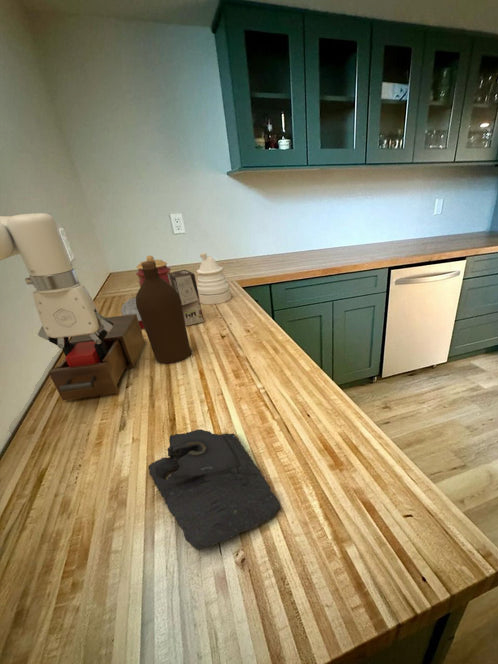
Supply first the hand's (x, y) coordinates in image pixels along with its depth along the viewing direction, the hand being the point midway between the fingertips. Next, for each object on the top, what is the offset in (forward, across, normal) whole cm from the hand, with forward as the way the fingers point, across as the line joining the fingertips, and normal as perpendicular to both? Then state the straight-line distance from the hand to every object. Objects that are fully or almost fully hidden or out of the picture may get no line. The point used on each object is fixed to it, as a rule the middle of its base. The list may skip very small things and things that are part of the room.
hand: (89, 358), depth 77 cm
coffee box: (+7, +19, +38) cm, 43 cm away
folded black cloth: (+7, +27, -39) cm, 48 cm away
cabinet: (+7, 0, +15) cm, 17 cm away
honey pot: (+7, +27, +60) cm, 66 cm away
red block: (0, 0, 0) cm, 0 cm away
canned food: (+7, +2, +40) cm, 41 cm away
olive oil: (+7, +16, +11) cm, 21 cm away
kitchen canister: (+7, +5, +67) cm, 68 cm away
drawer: (+6, 0, -1) cm, 6 cm away
